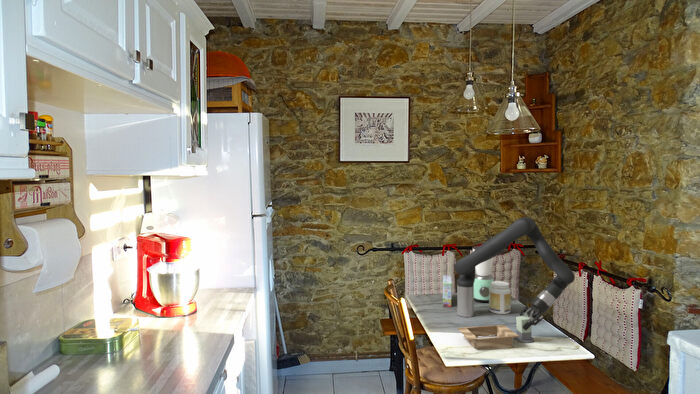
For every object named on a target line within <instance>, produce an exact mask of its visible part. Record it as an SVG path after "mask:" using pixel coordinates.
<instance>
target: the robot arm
mask: <svg viewBox="0 0 700 394" xmlns="http://www.w3.org/2000/svg"><path fill="white" fill-rule="evenodd" d="M524 236H526V237H527V238H529V239H530V240H531V242H532V243H533V245H534V247H535V248H536V250H537V253H538V254H539V256H540V258H541V259H542V260H543V262H544V263H545V265H546V266H547V267H548V268H549V270H552V271H553V272H554V274H556V275H555V277H554V278H553V279H552V281H551V282H550V283H549V284H548V285H547V286H546V287H545V288H544V289H543V290H541V292H540V293H538V295H537V296H536V297H535V298H534V299H533V300H532V302H531V306H529V307H528V306H527V305H525V306H524V307H523V309H522V310H521V312H520V313H519V316H527V317H528V318H529V320H528V322H527V323H526V324H525V325H524V326H523V329H524V330H527V329H528V328H529V327H530V326H531V327H532V326H537V325H538V324H539V323H540V322H541V321H542V320H543V319H545V318H544V316H543V315H542V314H545V313H547V311H549V309H550V308H552V306H553V305H554V303H555V302H556V300H557V299H559V297H560V296H561V295H562V293H563V291H565V290H566V288H568V286H569V285H570V284H572V283H574V282H575V279H576V275H575V273H574V272H573V270H572V269H571V268H570V267H569V266H568V265H567V264H566V263H565V262H564V261H563V260H562V259H561V257H560V256H559V255H558V254H557V253H556V251H554V249H553V248H552V246H551V245H550V244H549V243H548V241H547V239H546V238H545V237H544V235H543V234H542V232H541V231H540V229H539V227H538V225H537V223H536V221H535V220H534V219H533V218H531V217H529V216H523V217H519V218H517V219H516V220H515V221H514V222H512V223H511V224H510V225H509V226H508V227H507V228H505V229H504V230H503V231H501V232H499V233H497V234H495V235H493V236H492V237H490V238H488V240H486V241H484V242H483V243H482V244H480V245H478V246H479V247H478V248H477V249H476V250H474V251H473V250H472V251H471V253H469V254H467V255H465V256H464V257H462V258H460V259H458V260H457V261H455V263H454V270H455V272H456V274H458V275H459V277H458V279H457V281H456V286H457V287H456V292H457V294H456V297H457V298H456V299H457V301H456V304H457V306H456V308H457V310H456V315H457V316H460V317H462V318H463V317H464V318H470V317H473V316H475V315H474V314H475V312H474V311H475V302H474V301H475V300H474V281H475V274H476V270H475V266H477V265H478V264H480V263H482V262H485V261H487V260H489V259H491V258H493V259H494V258H495V257H497V256H498V255H499V254H501V253H502V252H504V250H506V249H507V248H508V247H509V246H510V245H511V244H512V243H513V242H515V241H516V240H519V239H520V238H522V237H524Z"/></svg>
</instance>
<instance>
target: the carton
mask: <svg viewBox="0 0 700 394" xmlns="http://www.w3.org/2000/svg"><path fill="white" fill-rule="evenodd" d="M457 330H458V331H459V332H460V333H461V334H462V335H463V337H465V338H466V341H467V342H468V343H469V344H471V345H472V346H473V348H474V349H476V350H477V351H478V350H492V349H505V348H506V349H507V348H513V340H514V339H513V338H514V337H520V336H518V335H517V332H514V331H513V330H512V329H510V328H509V327H508V326H506V325H504V324H496V325H482V326H481V325H478V326H469V327H468V326H466V327H457ZM489 335H497V336H491V337H490V336H489ZM478 336H483V337H478Z"/></svg>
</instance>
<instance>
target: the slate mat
mask: <svg viewBox="0 0 700 394" xmlns="http://www.w3.org/2000/svg"><path fill="white" fill-rule="evenodd" d="M513 340H515V341H516V340H517V342H519V343H524V344H530V343H531V342H532V343H533V341H534V342H535V338H534V337H532V339H529V340H521V339H520V338H518V337H514V339H513Z"/></svg>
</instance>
